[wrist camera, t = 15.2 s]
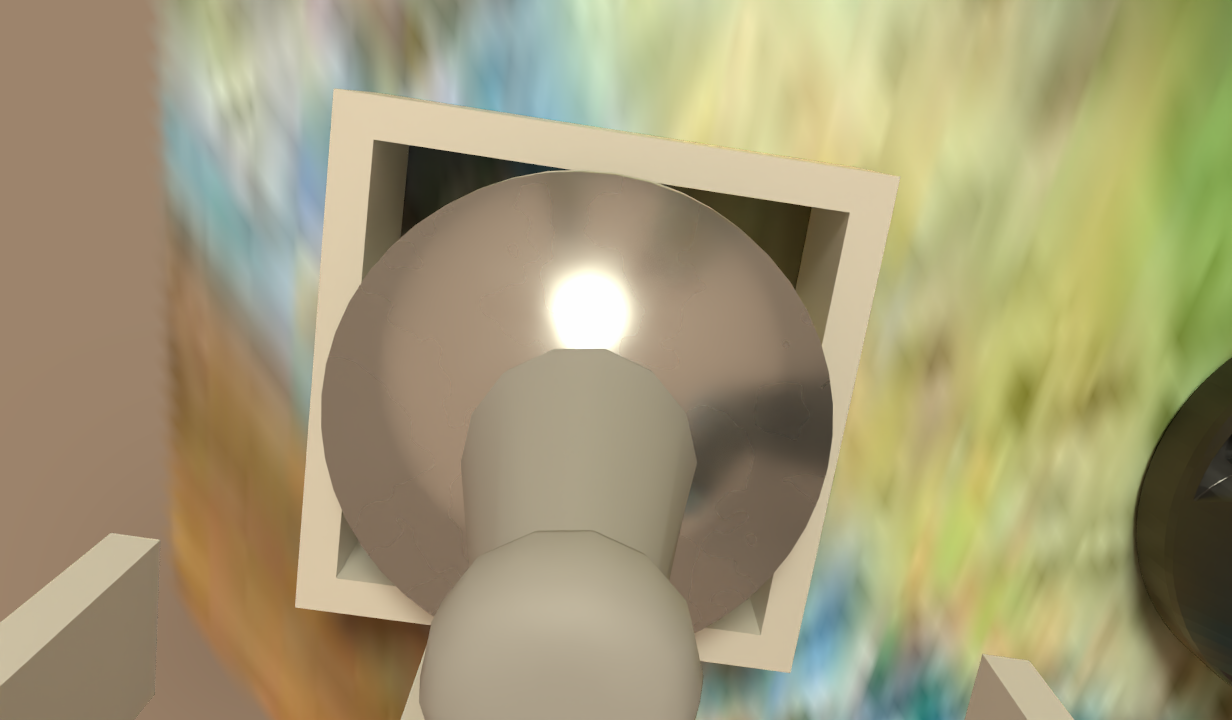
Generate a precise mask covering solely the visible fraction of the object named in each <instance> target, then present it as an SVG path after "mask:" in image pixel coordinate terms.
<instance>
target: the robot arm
mask: <svg viewBox="0 0 1232 720" xmlns="http://www.w3.org/2000/svg"><path fill="white" fill-rule="evenodd" d="M1137 550H1138V558H1139V564H1140V568H1141V573H1142V576H1143V580H1144V583H1145V586H1146V589H1147V591H1148V594H1149V596H1150V599H1151V601H1152V602H1153V604H1154V606H1155V608H1156V610H1157V612H1158V613H1159V615H1160V616H1161V618H1162V620H1163V621H1164V623H1165V624H1166V625H1167V626H1168V628H1169V629H1170V630H1171V632H1172V633H1173V634H1174V635H1175V636H1176V637H1177V638H1178V639H1179V640H1180V641H1181V642H1182V643H1183V644H1184V645H1185V646H1186V647H1187V648H1188V649H1189V650H1190V651H1191V652H1193V653H1194V654H1195V655H1196V656H1197V657H1198V658H1199V659H1200V660H1201V661H1202V662H1203V663H1205V664H1206V665H1207V666H1208V667H1209V668H1210V669H1211V670H1212V671H1213V672H1214V673H1216V674H1217V675H1218V676H1219V677H1220V678H1221V679H1223V680H1224V681H1225V682H1227V683H1228V684H1229V685H1231V686H1232V358H1231V359H1230V360H1228V361H1227V362H1226V363H1225V364H1223V365H1222V366H1221V367H1220V368H1219V369H1217V370H1216V371H1215V372H1214V373H1213V374H1212V375H1211V376H1210V377H1209V378H1208V379H1207V380H1206V381H1205V382H1204V383H1203V384H1202V385H1201V386H1200V387H1199V388H1198V389H1197V390H1196V391H1195V392H1194V393H1193V395H1192V396H1191V397H1190V398H1189V399H1188V401H1187V402H1186V403H1185V404H1184V405H1183V407H1182V408H1181V410H1180V411H1179V412H1178V414H1177V415H1176V417H1175V418H1174V419H1173V421H1172V423H1171V424H1170V426H1169V427H1168V429H1167V430H1166V432H1165V434H1164V436H1163V438H1162V439H1161V441H1160V443H1159V445H1158V447H1157V449H1156V451H1155V454H1154V456H1153V458H1152V460H1151V463H1150V466H1149V468H1148V471H1147V474H1146V477H1145V481H1144V484H1143V488H1142V492H1141V497H1140V501H1139V508H1138V516H1137ZM159 565H160V540H157V539H150V538H143V537H136V536H129V535H121V534H114V533H110V534H109V535H108V536H107V537H106V538H104V539H103V540H102V541H101V542H99V543H98V544H97V545H96V546H94V547H93V548H92V549H91V550H89V551H88V552H87V553H86V554H84V555H83V556H82V557H81V558H80V559H78V560H77V561H76V562H75V563H73V564H72V565H71V566H70V567H68V568H67V569H66V570H65V571H64V572H62V573H61V574H60V575H59V576H58V577H56V578H55V579H54V580H52V581H51V582H50V583H49V584H47V585H46V586H45V587H44V588H43V589H41V590H40V591H39V592H38V593H36V594H35V595H34V596H33V597H31V598H30V599H29V600H28V601H26V602H25V603H24V604H23V605H22V606H20V607H19V608H18V609H17V610H15V611H14V612H13V613H12V614H10V615H9V616H8V617H7V618H6V619H4V620H3V621H2V622H1V623H0V720H134V719H135V718H136V717H137V716H138V715H139V713H140V712H141V711H142V710H143V708H144V707H145V706H146V705H147V703H148V702H149V701H150V700H151V699H152V697H153V696H154V695H155V670H156V644H157V618H158V591H159ZM965 720H1074V719H1073V718H1072V716H1071V715H1070V714H1069V712H1068V711H1067V710H1066V708H1065V707H1064V706H1063V704H1062V703H1061V702H1060V701H1059V699H1058V698H1057V697H1056V695H1055V694H1054V693H1053V691H1052V690H1051V689H1050V687H1049V686H1048V685H1047V683H1046V682H1045V681H1044V679H1043V678H1042V677H1041V676H1040V674H1039V673H1038V672H1037V670H1036V669H1035V668H1034V666H1033V665H1032V664H1031V662H1030V661H1028V660H1021V659H1014V658H1007V657H1000V656H992V655H985V654H983V655H982V658H981V662H980V666H979V669H978V673H977V676H976V680H975V684H974V687H973V691H972V695H971V698H970V702H969V706H968V709H967V713H966V717H965Z"/></svg>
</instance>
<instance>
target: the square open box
mask: <svg viewBox="0 0 1232 720" xmlns="http://www.w3.org/2000/svg"><path fill="white" fill-rule="evenodd" d="M409 145H413V146H419V147H426V148H432V149H439V150H445V151H452V152H458V153H465V154H471V155H478V156H484V157H491V158H497V159H504V160H510V161H517V162H523V163H530V164H537V165H543V166H550V167H556V168H563V169H569V170H591V171H603V172H615V173H620V174H624V175H629V176H633V177H638V178H642V179H647V180H650V181H653V182H656V183H660V184H667V185H673V186H680V187H686V188H693V189H699V190H706V191H712V192H719V193H725V194H732V195H738V196H745V197H751V198H758V199H764V200H771V201H777V202H784V203H790V204H797V205H803V206H810V207H812V210H811V215H810V220H809V225H808V230H807V235H806V239H805V244H804V249H803V254H802V259H801V264H800V269H799V274H798V279H797V284H796V289H795V291H796V292H797V294H798V296H799V297H800V299H801V301H802V302H803V304H804V306H805V307H806V309H807V311H808V313H809V316H810V318H811V320H812V323H813V325H814V327H815V330H816V332H817V334H818V337H819V339H820V341H821V345H822V349H823V353H824V356H825V360H826V364H827V367H828V371H829V377H830V385H831V393H832V401H833V437H832V444H831V451H830V457H829V464H828V469H827V473H826V476H825V479H824V483H823V486H822V490H821V493H820V497H819V499H818V501H817V504H816V506H815V508H814V510H813V513H812V515H811V517H810V519H809V522H808V524H807V526H806V528H805V530H804V531H803V533H802V534H801V536H800V538H799V539H798V541H797V543H796V544H795V546H794V547H793V549H792V551H791V552H790V554H789V555H788V556H787V557H786V559H785V560H784V561H783V562H782V564H781V565H780V566H779V567H778V569H777V570H776V571H775V572H774V574H773V575H772V576H771V577H770V578H769V579H768V580H767V581H766V582H765V583H764V584H763V585H762V586H761V587H760V588H759V589H758V590H757V591H756V592H755V593H754V594H752V595H751V596H750V597H749V598H748V599H747V600H746V601H744V602H743V603H742V604H740V605H739V606H738V607H736V608H735V609H734V610H732V611H731V612H730V613H728V614H727V615H726V616H724V617H723V618H721V619H719V620H717V621H716V622H714V623H712V624H710V625H709V626H707V627H705V628H703V629H702V630H700V631H698V632H696V633H694V635H695V639H696V644H697V649H698V653H699V658H700V661H704V662H712V663H719V664H727V665H734V666H742V667H749V668H757V669H765V670H772V671H780V672H787V673H790V672H791V667H792V663H793V658H794V654H795V649H796V645H797V640H798V636H799V631H800V627H801V622H802V618H803V613H804V609H805V604H806V600H807V595H808V591H809V586H810V582H811V577H812V573H813V568H814V564H815V559H816V555H817V550H818V546H819V541H820V537H821V532H822V528H823V523H824V519H825V514H826V510H827V505H828V501H829V496H830V492H831V487H832V483H833V478H834V474H835V469H836V465H837V460H838V456H839V451H840V447H841V442H842V438H843V433H844V429H845V424H846V420H847V415H848V411H849V406H850V402H851V397H852V393H853V388H854V384H855V379H856V375H857V370H858V366H859V361H860V357H861V352H862V348H863V343H864V339H865V334H866V330H867V325H868V321H869V316H870V312H871V307H872V303H873V298H874V294H875V289H876V285H877V280H878V276H879V271H880V267H881V262H882V258H883V253H884V249H885V244H886V240H887V235H888V231H889V226H890V222H891V217H892V213H893V208H894V204H895V199H896V195H897V190H898V186H899V181H900V177H899V176H895V175H890V174H885V173H881V172H876V171H871V170H867V169H862V168H857V167H851V166H845V165H838V164H832V163H825V162H819V161H813V160H806V159H800V158H793V157H787V156H780V155H774V154H768V153H761V152H755V151H748V150H742V149H735V148H729V147H723V146H716V145H710V144H703V143H697V142H690V141H684V140H678V139H671V138H665V137H658V136H652V135H646V134H639V133H633V132H626V131H620V130H613V129H607V128H601V127H594V126H588V125H581V124H575V123H568V122H562V121H556V120H549V119H543V118H536V117H530V116H523V115H517V114H511V113H504V112H498V111H491V110H485V109H478V108H472V107H466V106H459V105H453V104H446V103H440V102H433V101H427V100H421V99H414V98H408V97H401V96H395V95H389V94H382V93H375V92H364V91H354V90H343V89H334V93H333V106H332V120H331V133H330V147H329V160H328V174H327V187H326V200H325V214H324V227H323V241H322V254H321V267H320V281H319V294H318V308H317V321H316V335H315V348H314V361H313V375H312V388H311V402H310V415H309V428H308V442H307V455H306V469H305V482H304V496H303V509H302V522H301V536H300V549H299V563H298V576H297V590H296V603H295V607H297V608H304V609H312V610H320V611H327V612H335V613H342V614H350V615H357V616H365V617H372V618H380V619H387V620H395V621H403V622H410V623H418V624H425V625H431V623H432V620H433V618H434V616H432V615H431V614H429V613H427V612H426V611H425V610H424V609H422V608H421V607H420V606H419V605H417V604H416V603H415V602H413V601H412V600H411V599H410V598H408V597H407V596H406V595H404V594H403V593H402V592H401V591H400V590H399V589H398V588H397V587H396V586H395V585H394V584H393V583H392V582H391V581H390V580H389V579H388V578H387V577H386V576H385V575H384V574H383V573H382V572H381V571H380V569H379V568H378V567H377V565H376V564H375V563H374V562H373V560H372V559H371V558H370V556H369V555H368V554H367V552H366V551H365V550H364V549H363V547H362V546H361V544H360V543H359V541H358V539H357V537H356V536H355V534H354V532H353V531H352V529H351V527H350V525H349V524H348V522H347V520H346V518H345V516H344V514H343V511H342V509H341V507H340V504H339V502H338V499H337V497H336V495H335V492H334V490H333V486H332V483H331V479H330V475H329V472H328V468H327V464H326V460H325V454H324V446H323V439H322V431H321V394H322V388H323V381H324V374H325V367H326V362H327V359H328V355H329V352H330V349H331V345H332V342H333V338H334V335H335V332H336V330H337V328H338V325H339V323H340V321H341V319H342V317H343V314H344V312H345V310H346V308H347V306H348V303H349V301H350V300H351V298H352V297H353V295H354V294H355V292H356V290H357V289H358V287H359V286H360V284H361V283H362V281H363V280H364V278H365V276H366V275H367V273H368V272H369V271H370V270H371V269H372V268H373V266H374V265H375V264H376V263H377V262H378V261H379V259H380V258H381V257H382V256H383V255H384V254H385V252H386V251H387V250H388V249H389V248H390V247H391V246H392V245H393V244H394V243H396V242H397V241H398V240H399V239H400V238H401V228H402V217H403V207H404V196H405V186H406V175H407V165H408V154H409ZM425 651H426V649H425ZM425 651H424V654H423V657H422V660H421V663H420V666H419V669H418V671H417V674H416V677H415V680H414V683H413V686H412V689H411V692H410V694H409V697H408V700H407V703H406V706H405V709H404V712H403V714H402V717H401V720H425V719H424V716H423V713H422V710H421V707H420V704H419V688H420V674H421V669H422V665H423V660H424V656H425Z"/></svg>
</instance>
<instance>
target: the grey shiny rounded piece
mask: <svg viewBox="0 0 1232 720" xmlns="http://www.w3.org/2000/svg"><path fill="white" fill-rule="evenodd" d="M553 349H607V350H609V351H611V352H613V353H615V354H618V355H620V356H622V357H624V358H626V359H628V360H630V361H632V362H635V363H637V364H639V365H641V366H643V367H645V368H647V369H649V370H651V371H652V372H653V373H654V374H655V375H656V377H657V378H658V379H659V380H660V382H661V383H662V384H663V385H664V387H665V388H666V389H667V390H668V391H669V393H670V394H671V395H672V396H673V398H674V399H675V400H676V401H677V402H678V404H679V405H680V406H681V407H682V409H683V410H684V411H685V412H686V414H687V418H688V422H689V427H690V432H691V436H692V441H693V446H694V450H695V455H696V460H697V465H696V469H695V473H694V476H693V480H692V484H691V488H690V492H689V496H688V499H687V503H686V507H685V511H684V516H683V520H682V525H681V529H680V534H679V539H678V543H677V548H676V552H675V557H674V561H673V566H672V571H671V575H670V580H669V581H670V582H671V584H672V585H673V586H674V587H675V588H676V589H677V590H678V592H679V593H680V594H681V595H682V596H683V597H684V598H685V600H686V601H687V605H688V609H689V613H690V617H691V621H692V626H693V630H694V633H696V632H698V631H700V630H702V629H703V628H705V627H707V626H709V625H710V624H712V623H714V622H716V621H717V620H719V619H721V618H723V617H724V616H726V615H727V614H728V613H730V612H731V611H732V610H734V609H735V608H736V607H738V606H739V605H740V604H742V603H743V602H744V601H746V600H747V599H748V598H749V597H750V596H751V595H752V594H754V593H755V592H756V591H757V590H758V589H759V588H760V587H761V586H762V585H763V584H764V583H765V582H766V581H767V580H768V579H769V578H770V577H771V576H772V575H773V574H774V572H775V571H776V570H777V569H778V567H779V566H780V565H781V564H782V562H783V561H784V560H785V559H786V557H787V556H788V555H789V554H790V552H791V551H792V549H793V547H794V546H795V544H796V543H797V541H798V539H799V538H800V536H801V534H802V533H803V531H804V530H805V528H806V526H807V524H808V522H809V519H810V517H811V515H812V513H813V510H814V508H815V506H816V504H817V501H818V499H819V497H820V493H821V490H822V486H823V483H824V479H825V476H826V473H827V469H828V464H829V457H830V451H831V444H832V437H833V401H832V393H831V385H830V377H829V371H828V367H827V364H826V360H825V356H824V353H823V349H822V345H821V341H820V339H819V337H818V334H817V332H816V330H815V327H814V325H813V323H812V320H811V318H810V316H809V313H808V311H807V309H806V307H805V306H804V304H803V302H802V301H801V299H800V297H799V296H798V294H797V292H796V291H795V289H794V287H793V286H792V284H791V282H790V281H789V280H788V279H787V277H786V276H785V275H784V274H783V272H782V271H781V270H780V269H779V267H778V266H777V265H776V264H775V262H774V261H773V260H772V259H771V258H770V256H769V255H768V254H767V253H766V252H765V251H764V250H763V249H761V248H760V247H759V246H758V245H757V244H756V243H755V242H754V241H753V240H752V239H751V238H750V237H749V236H748V235H747V234H746V233H745V232H743V231H742V230H741V229H740V228H739V227H738V226H736V225H735V224H733V223H732V222H731V221H729V220H728V219H726V218H725V217H724V216H722V215H721V214H719V213H718V212H717V211H715V210H714V209H712V208H711V207H709V206H707V205H705V204H703V203H701V202H700V201H698V200H696V199H694V198H692V197H690V196H688V195H686V194H684V193H682V192H680V191H678V190H675V189H672V188H669V187H667V186H664V185H661V184H659V183H656V182H653V181H650V180H647V179H642V178H638V177H633V176H629V175H624V174H620V173H615V172H603V171H591V170H563V171H545V172H540V173H534V174H529V175H524V176H518V177H513V178H510V179H507V180H504V181H501V182H497V183H494V184H491V185H488V186H485V187H482V188H480V189H477V190H475V191H473V192H471V193H469V194H467V195H465V196H463V197H461V198H459V199H457V200H455V201H453V202H451V203H449V204H447V205H445V206H443V207H442V208H440V209H439V210H437V211H436V212H434V213H433V214H431V215H430V216H428V217H427V218H425V219H424V220H422V221H421V222H419V223H418V224H416V225H415V226H414V227H412V228H411V229H410V230H409V231H408V232H407V233H406V234H405V235H403V236H402V237H401V238H400V239H399V240H398V241H397V242H396V243H394V244H393V245H392V246H391V247H390V248H389V249H388V250H387V251H386V252H385V254H384V255H383V256H382V257H381V258H380V259H379V261H378V262H377V263H376V264H375V265H374V266H373V268H372V269H371V270H370V271H369V272H368V273H367V275H366V276H365V278H364V280H363V281H362V283H361V284H360V286H359V287H358V289H357V290H356V292H355V294H354V295H353V297H352V298H351V300H350V301H349V303H348V306H347V308H346V310H345V312H344V314H343V317H342V319H341V321H340V323H339V325H338V328H337V330H336V332H335V335H334V338H333V342H332V345H331V349H330V352H329V355H328V359H327V362H326V367H325V374H324V381H323V388H322V394H321V431H322V439H323V446H324V454H325V460H326V464H327V468H328V472H329V475H330V479H331V483H332V486H333V490H334V492H335V495H336V497H337V499H338V502H339V504H340V507H341V509H342V511H343V514H344V516H345V518H346V520H347V522H348V524H349V525H350V527H351V529H352V531H353V532H354V534H355V536H356V537H357V539H358V541H359V543H360V544H361V546H362V547H363V549H364V550H365V551H366V552H367V554H368V555H369V556H370V558H371V559H372V560H373V562H374V563H375V564H376V565H377V567H378V568H379V569H380V571H381V572H382V573H383V574H384V575H385V576H386V577H387V578H388V579H389V580H390V581H391V582H392V583H393V584H394V585H395V586H396V587H397V588H398V589H399V590H400V591H401V592H402V593H403V594H404V595H406V596H407V597H408V598H410V599H411V600H412V601H413V602H415V603H416V604H417V605H419V606H420V607H421V608H422V609H424V610H425V611H426V612H427V613H429V614H431V615H432V616H435V614H436V612H437V610H438V608H439V606H440V604H441V602H442V600H443V599H444V598H445V597H446V595H447V594H448V593H449V592H450V591H451V589H452V588H453V587H454V586H455V584H456V583H457V582H458V581H459V579H460V578H461V577H462V576H463V575H464V573H465V572H466V571H467V570H468V568H469V563H468V550H467V538H466V525H465V512H464V499H463V486H462V473H461V459H462V455H463V450H464V446H465V442H466V437H467V433H468V428H469V424H470V419H471V415H472V413H473V412H474V410H475V409H476V408H477V406H478V405H479V404H480V402H481V401H482V400H483V399H484V397H485V396H486V395H487V393H488V392H489V391H490V389H491V388H492V387H493V386H494V384H495V383H496V382H497V380H498V379H499V378H500V376H501V375H502V374H503V373H504V372H506V371H507V370H509V369H511V368H513V367H516V366H518V365H520V364H522V363H524V362H527V361H529V360H531V359H533V358H535V357H538V356H540V355H542V354H544V353H546V352H549V351H551V350H553Z"/></svg>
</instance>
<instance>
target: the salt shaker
mask: <svg viewBox="0 0 1232 720" xmlns="http://www.w3.org/2000/svg"><path fill="white" fill-rule="evenodd" d="M696 465H697V460H696V455H695V450H694V446H693V441H692V436H691V432H690V427H689V422H688V418H687V414H686V412H685V411H684V410H683V409H682V407H681V406H680V405H679V404H678V402H677V401H676V400H675V399H674V398H673V396H672V395H671V394H670V393H669V391H668V390H667V389H666V388H665V387H664V385H663V384H662V383H661V382H660V380H659V379H658V378H657V377H656V375H655V374H654V373H653V372H652V371H651V370H649V369H647V368H645V367H643V366H641V365H639V364H637V363H635V362H632V361H630V360H628V359H626V358H624V357H622V356H620V355H618V354H615V353H613V352H611V351H609V350H607V349H553V350H551V351H549V352H546V353H544V354H542V355H540V356H538V357H535V358H533V359H531V360H529V361H527V362H524V363H522V364H520V365H518V366H516V367H513V368H511V369H509V370H507V371H506V372H504V373H503V374H502V375H501V376H500V378H499V379H498V380H497V382H496V383H495V384H494V386H493V387H492V388H491V389H490V391H489V392H488V393H487V395H486V396H485V397H484V399H483V400H482V401H481V402H480V404H479V405H478V406H477V408H476V409H475V410H474V412H473V413H472V415H471V419H470V424H469V428H468V433H467V437H466V442H465V446H464V450H463V455H462V459H461V473H462V486H463V499H464V512H465V525H466V538H467V550H468V563H469V568H468V570H467V571H466V572H465V573H464V575H463V576H462V577H461V578H460V579H459V581H458V582H457V583H456V584H455V586H454V587H453V588H452V589H451V591H450V592H449V593H448V594H447V595H446V597H445V598H444V599H443V600H442V602H441V604H440V606H439V608H438V610H437V612H436V614H435V616H434V618H433V620H432V623H431V628H430V632H429V637H428V642H427V646H426V651H425V656H424V660H423V665H422V669H421V674H420V688H419V704H420V707H421V710H422V713H423V716H424V719H425V720H695V718H696V715H697V711H698V707H699V704H700V698H701V691H702V684H703V672H702V667H701V663H700V658H699V653H698V649H697V644H696V639H695V635H694V630H693V626H692V621H691V617H690V613H689V609H688V605H687V601H686V600H685V598H684V597H683V596H682V595H681V594H680V593H679V592H678V590H677V589H676V588H675V587H674V586H673V585H672V584H671V582H670V581H669V580H670V575H671V571H672V566H673V561H674V557H675V552H676V548H677V543H678V539H679V534H680V529H681V525H682V520H683V516H684V511H685V507H686V503H687V499H688V496H689V492H690V488H691V484H692V480H693V476H694V473H695V469H696Z"/></svg>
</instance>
